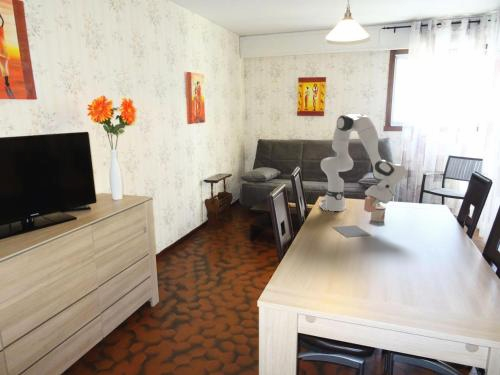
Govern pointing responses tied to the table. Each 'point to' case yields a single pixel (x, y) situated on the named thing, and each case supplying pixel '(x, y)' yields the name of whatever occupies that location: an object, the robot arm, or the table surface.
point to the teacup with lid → (378, 213)
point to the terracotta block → (369, 204)
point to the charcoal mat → (351, 231)
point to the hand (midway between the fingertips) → (369, 204)
